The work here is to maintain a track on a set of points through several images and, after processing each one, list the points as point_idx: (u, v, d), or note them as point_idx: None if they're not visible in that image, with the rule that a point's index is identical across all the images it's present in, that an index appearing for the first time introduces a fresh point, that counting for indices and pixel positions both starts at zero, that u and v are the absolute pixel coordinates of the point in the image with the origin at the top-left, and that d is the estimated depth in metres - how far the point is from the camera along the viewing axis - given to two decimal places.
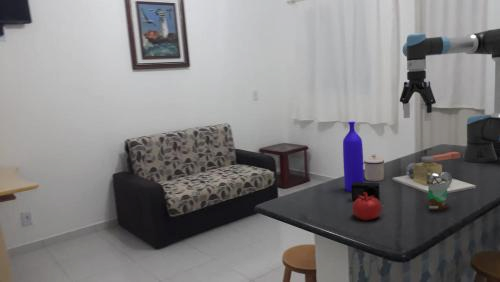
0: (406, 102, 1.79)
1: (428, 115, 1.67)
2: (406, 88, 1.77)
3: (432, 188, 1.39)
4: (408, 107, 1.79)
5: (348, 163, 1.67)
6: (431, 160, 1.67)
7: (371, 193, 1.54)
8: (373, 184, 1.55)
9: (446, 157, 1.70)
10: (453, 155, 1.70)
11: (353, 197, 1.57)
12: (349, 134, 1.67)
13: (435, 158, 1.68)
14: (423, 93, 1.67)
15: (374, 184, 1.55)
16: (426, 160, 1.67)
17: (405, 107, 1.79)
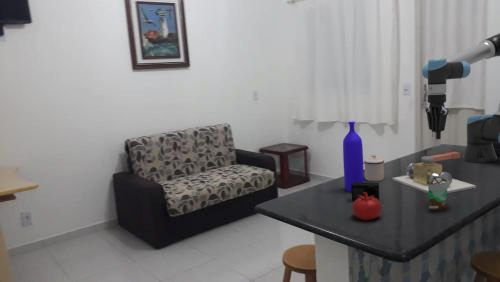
0: None
1: (437, 141, 1.78)
2: (429, 113, 1.81)
3: (432, 188, 1.39)
4: None
5: (348, 163, 1.67)
6: (431, 160, 1.67)
7: (371, 193, 1.54)
8: (373, 184, 1.55)
9: (446, 157, 1.70)
10: (453, 155, 1.70)
11: (353, 197, 1.57)
12: (349, 134, 1.67)
13: (435, 158, 1.68)
14: (438, 119, 1.75)
15: (374, 184, 1.55)
16: (426, 160, 1.67)
17: (434, 135, 1.78)
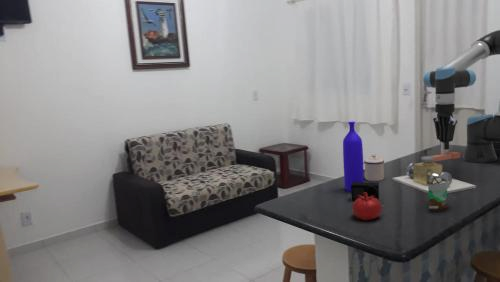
0: None
1: (445, 151, 1.73)
2: (437, 123, 1.76)
3: (432, 188, 1.39)
4: None
5: (348, 163, 1.67)
6: (431, 160, 1.67)
7: (371, 193, 1.55)
8: (373, 184, 1.55)
9: (446, 157, 1.70)
10: (453, 155, 1.70)
11: (353, 197, 1.58)
12: (349, 134, 1.67)
13: (435, 158, 1.68)
14: (446, 129, 1.71)
15: (374, 184, 1.55)
16: (426, 160, 1.67)
17: (442, 145, 1.73)
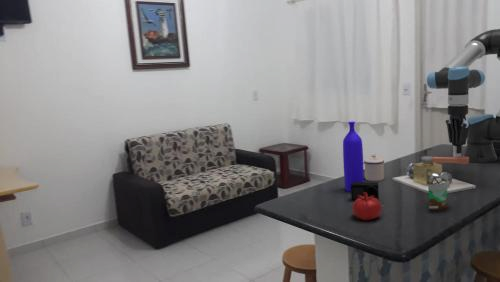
0: None
1: (457, 155, 1.65)
2: (450, 125, 1.68)
3: (432, 188, 1.39)
4: None
5: (348, 163, 1.67)
6: (427, 160, 1.67)
7: (371, 192, 1.55)
8: (372, 183, 1.56)
9: (450, 160, 1.64)
10: (459, 160, 1.62)
11: (353, 197, 1.58)
12: (349, 134, 1.67)
13: (434, 159, 1.66)
14: (459, 132, 1.62)
15: (373, 183, 1.56)
16: (422, 159, 1.68)
17: (454, 149, 1.65)
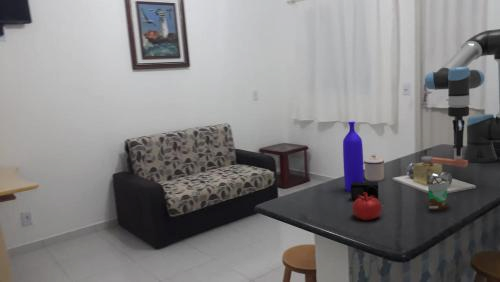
0: None
1: (458, 158, 1.61)
2: None
3: (432, 188, 1.39)
4: None
5: (348, 163, 1.67)
6: (425, 160, 1.67)
7: (371, 192, 1.55)
8: (372, 183, 1.56)
9: (446, 162, 1.62)
10: (455, 162, 1.59)
11: (353, 197, 1.58)
12: (349, 134, 1.67)
13: (432, 160, 1.66)
14: None
15: (373, 183, 1.56)
16: None
17: (455, 151, 1.62)
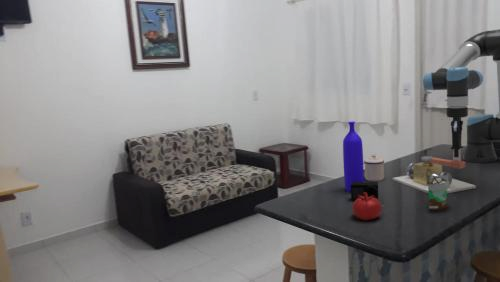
0: None
1: (456, 159, 1.60)
2: None
3: (432, 188, 1.39)
4: None
5: (348, 163, 1.67)
6: (424, 160, 1.68)
7: (370, 192, 1.55)
8: (372, 183, 1.56)
9: (444, 163, 1.61)
10: (451, 163, 1.58)
11: (353, 197, 1.58)
12: (349, 134, 1.67)
13: (431, 160, 1.66)
14: None
15: (373, 183, 1.56)
16: None
17: (453, 152, 1.60)
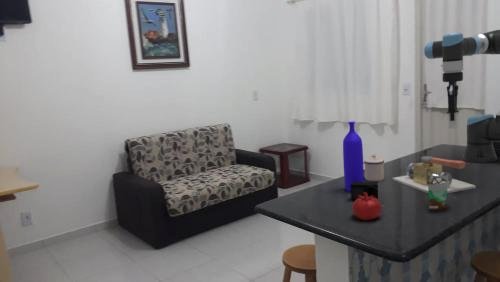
0: None
1: (452, 123, 1.66)
2: None
3: (432, 188, 1.39)
4: None
5: (348, 163, 1.67)
6: (424, 160, 1.68)
7: (370, 192, 1.55)
8: (372, 183, 1.56)
9: (444, 163, 1.61)
10: (451, 163, 1.58)
11: (352, 197, 1.58)
12: (349, 134, 1.67)
13: (431, 160, 1.66)
14: None
15: (373, 183, 1.56)
16: None
17: (449, 116, 1.66)
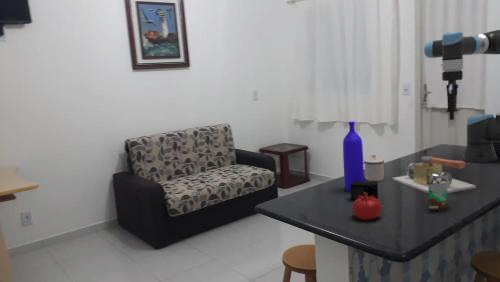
0: None
1: (451, 122, 1.66)
2: None
3: (432, 188, 1.39)
4: None
5: (348, 163, 1.67)
6: (424, 160, 1.68)
7: (370, 192, 1.55)
8: (372, 183, 1.56)
9: (444, 163, 1.61)
10: (451, 163, 1.58)
11: (352, 196, 1.58)
12: (349, 134, 1.67)
13: (431, 160, 1.66)
14: None
15: (373, 183, 1.56)
16: None
17: None
